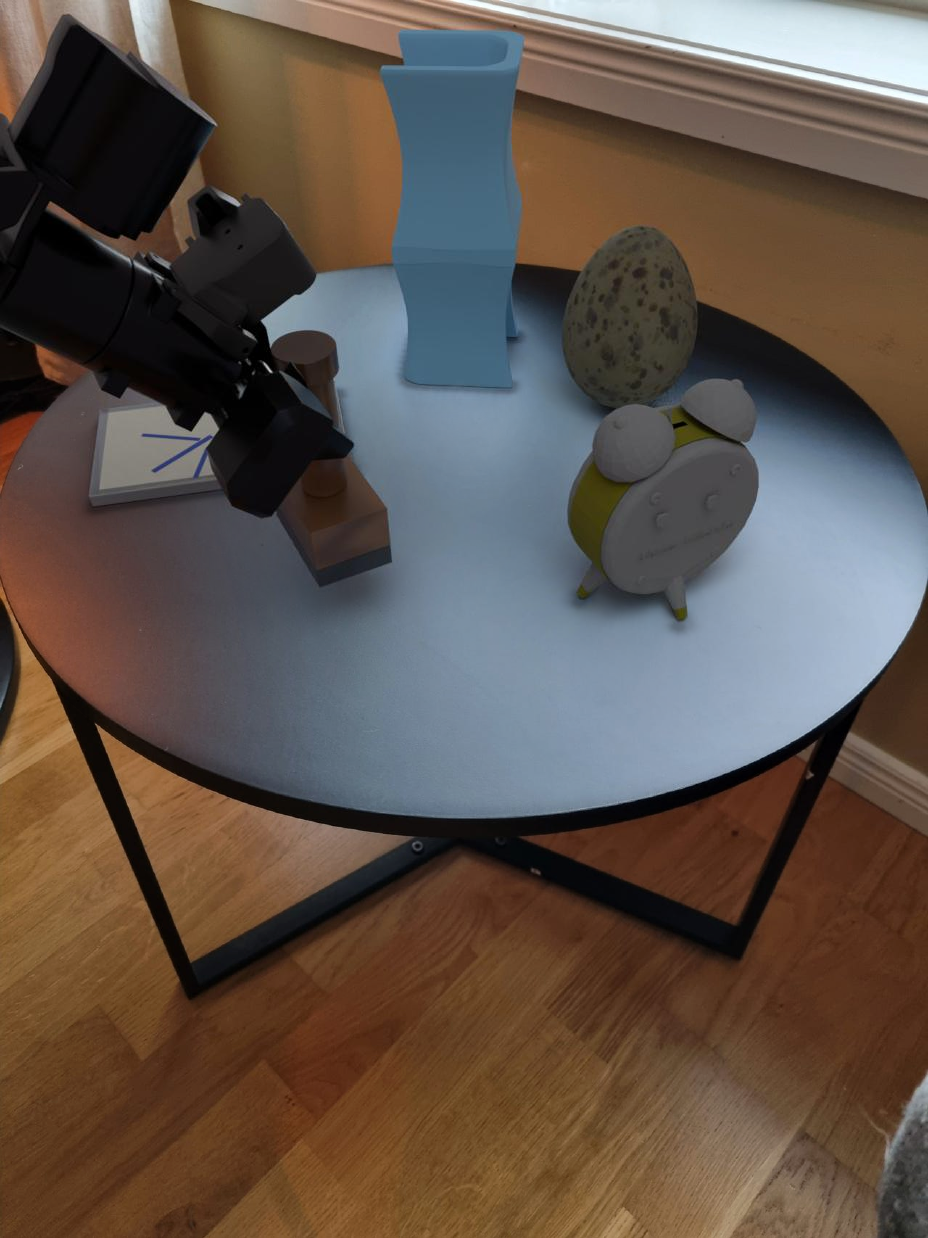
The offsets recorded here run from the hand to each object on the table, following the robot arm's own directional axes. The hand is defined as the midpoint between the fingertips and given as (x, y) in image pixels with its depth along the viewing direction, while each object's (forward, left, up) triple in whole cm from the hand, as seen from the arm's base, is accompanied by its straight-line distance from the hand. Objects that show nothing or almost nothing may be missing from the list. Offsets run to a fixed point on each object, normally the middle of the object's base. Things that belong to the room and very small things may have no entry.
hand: (339, 436), depth 55 cm
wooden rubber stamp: (-1, 0, -8) cm, 8 cm away
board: (-9, +19, -12) cm, 24 cm away
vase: (+13, +28, -13) cm, 33 cm away
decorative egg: (+25, +18, -13) cm, 33 cm away
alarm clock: (+20, -5, -13) cm, 24 cm away
